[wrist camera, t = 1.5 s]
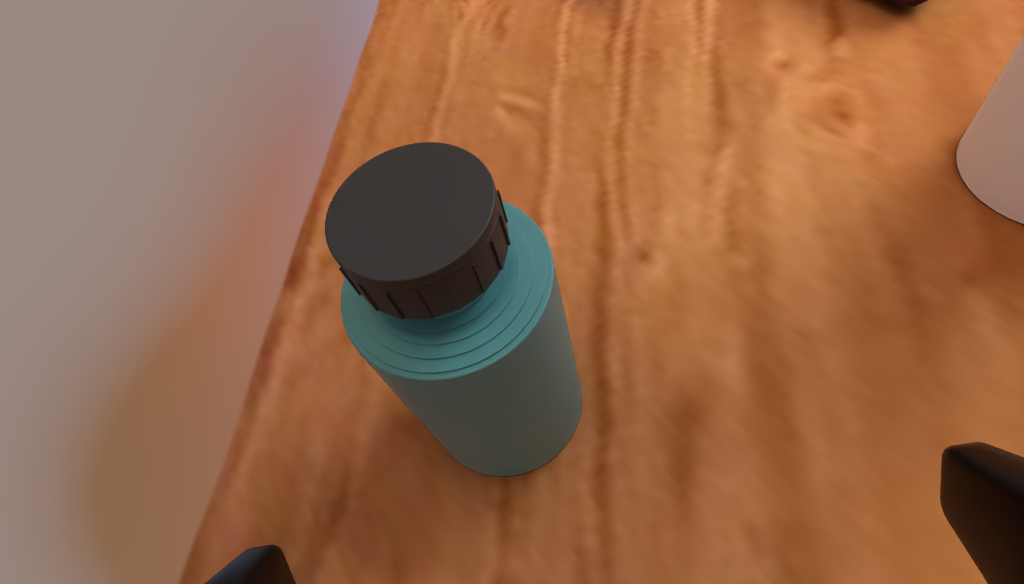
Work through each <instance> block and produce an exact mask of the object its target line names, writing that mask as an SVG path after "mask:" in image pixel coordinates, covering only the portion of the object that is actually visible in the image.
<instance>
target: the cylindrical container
mask: <svg viewBox="0 0 1024 584" xmlns="http://www.w3.org/2000/svg"><path fill="white" fill-rule="evenodd" d="M956 159H957V167H958V170H959V172H960V175H961V178H962V179H963V181H964V182H965V184H966V185H967V187H968V188H969V189H970V190H971V191H972V192H973V194H974V195H975V196H976V197H977V198H978V199H979V200H981V201H982V202H983V203H985V204H986V205H987V206H989V207H990V208H991V209H993V210H995V211H996V212H998V213H1000V214H1002V215H1004V216H1006V217H1007V218H1009V219H1012V220H1014V221H1017V222H1019V223H1022V224H1024V36H1023V37H1022V39H1021V41H1020V42H1019V44H1018V46H1017V47H1016V49H1015V51H1014V52H1013V54H1012V56H1011V57H1010V59H1009V60H1008V62H1007V64H1006V65H1005V67H1004V69H1003V70H1002V72H1001V74H1000V75H999V77H998V79H997V80H996V82H995V84H994V85H993V87H992V89H991V90H990V92H989V93H988V95H987V97H986V98H985V100H984V102H983V103H982V105H981V107H980V108H979V110H978V112H977V113H976V115H975V117H974V118H973V120H972V122H971V123H970V125H969V126H968V128H967V130H966V131H965V133H964V135H963V136H962V138H961V140H960V141H959V145H958V148H957V152H956Z"/></svg>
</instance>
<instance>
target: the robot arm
mask: <svg viewBox="0 0 1024 584" xmlns="http://www.w3.org/2000/svg"><path fill="white" fill-rule="evenodd" d="M940 501H941V506H942V509H943V512H944V514H945V517H946V518H947V520H948V522H949V523H950V525H951V526H952V528H953V530H954V531H955V533H956V534H957V536H958V537H959V539H960V541H961V542H962V544H963V545H964V547H965V548H966V550H967V552H968V553H969V555H970V556H971V558H972V559H973V561H974V562H975V564H976V566H977V567H978V569H979V570H980V572H981V573H982V575H983V577H984V578H985V580H986V581H987V583H988V584H1024V457H1021V456H1018V455H1016V454H1013V453H1010V452H1007V451H1005V450H1002V449H999V448H996V447H994V446H991V445H988V444H985V443H981V442H974V443H967V444H960V445H953V446H949V447H947V448H946V449H945V450H944V452H943V454H942V462H941V489H940ZM204 584H296V583H295V580H294V578H293V575H292V573H291V570H290V568H289V566H288V563H287V561H286V558H285V556H284V554H283V552H282V550H281V549H280V548H279V547H278V546H277V545H266V546H259V547H253V548H249V549H247V550H245V551H244V552H243V553H242V554H240V555H239V556H238V557H237V558H235V559H234V560H233V561H232V562H230V563H229V564H228V565H227V566H225V567H224V568H223V569H222V570H221V571H219V572H218V573H217V574H216V575H214V576H213V577H212V578H211V579H209V580H208V581H207V582H206V583H204Z"/></svg>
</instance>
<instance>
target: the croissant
mask: <svg viewBox="0 0 1024 584" xmlns="http://www.w3.org/2000/svg"><path fill="white" fill-rule="evenodd" d="M888 1H890V2H893V3H895V4H898V5H900V6H917V5H919V4H921V3H923V2H925V1H927V0H888Z"/></svg>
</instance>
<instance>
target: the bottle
mask: <svg viewBox="0 0 1024 584" xmlns="http://www.w3.org/2000/svg"><path fill="white" fill-rule="evenodd" d="M502 203H503V206H504V209H505V213H506V216H507V219H508V222H507V223H506V224H507V228H508V233H509V239H510V242H511V245H508V252H507V256H506V259H505V262H504V264H503V267H504V268H503V270H502V269H501V271H500V272H499V274H498V276H497V277H496V279H495V280H494V281H493V283H492V284H491V285H490V286H489V287H488V288H487V291H486V292H483V293H482V294H481V295H480V296H479V297H477V298H476V299H475V300H474V301H472V302H471V303H469V304H467V305H466V306H464V307H462V309H460V310H459V309H458V310H456V311H454V312H451V313H449V314H446V315H443V316H439V317H435V318H433V319H403V320H402V319H400V318H398V317H395V316H391V315H388V314H386V313H383V312H381V311H380V310H379V311H376V310H375V309H374V308H373V306H372V305H371V304H370V303H369V302H367V301H366V299H365V298H364V297H363V296H362V295H360V296H359V295H358V293H357V292H356V291H355V289H354V288H353V287H352V285H351V284H350V283H349V281H348V280H347V279H346V277H345V280H344V283H343V288H342V295H341V312H342V318H343V323H344V326H345V329H346V332H347V334H348V336H349V338H350V340H351V342H352V344H353V345H354V346H355V348H356V349H357V350H358V352H359V353H360V354H361V355H362V356H363V357H364V359H365V360H366V361H367V362H368V363H369V364H370V365H371V366H372V368H373V369H374V370H375V371H376V372H377V373H378V374H379V375H380V377H381V378H382V379H383V380H384V381H385V382H386V383H387V384H388V385H389V387H390V388H391V389H392V390H393V391H394V392H395V393H396V394H397V396H398V397H399V398H400V399H401V400H402V401H403V402H404V403H405V405H406V406H407V407H408V408H409V409H410V410H411V411H412V412H413V413H414V415H415V416H416V417H417V418H418V419H419V420H420V421H421V422H422V424H423V425H424V426H425V427H426V428H427V429H428V430H429V431H430V433H431V434H432V435H433V436H434V437H435V438H436V439H437V440H438V441H439V443H440V444H441V445H442V446H443V447H444V448H445V449H446V450H447V452H448V453H449V454H450V455H451V456H452V457H453V458H454V459H455V460H456V461H458V462H459V463H461V464H462V465H463V466H465V467H467V468H469V469H471V470H473V471H475V472H478V473H481V474H485V475H490V476H501V477H505V476H515V475H519V474H524V473H527V472H529V471H532V470H535V469H537V468H539V467H540V466H542V465H544V464H546V463H547V462H548V461H550V460H551V459H553V458H554V457H555V456H556V455H557V454H558V453H559V452H560V451H561V450H562V449H563V448H564V447H565V445H566V444H567V443H568V441H569V440H570V438H571V437H572V435H573V433H574V431H575V429H576V427H577V424H578V421H579V417H580V412H581V405H582V394H581V386H580V382H579V377H578V372H577V368H576V363H575V359H574V354H573V349H572V345H571V340H570V335H569V331H568V326H567V321H566V317H565V312H564V307H563V303H562V298H561V293H560V289H559V284H558V279H557V275H556V270H555V266H554V261H553V257H552V253H551V249H550V246H549V244H548V241H547V239H546V237H545V235H544V234H543V232H542V231H541V229H540V228H539V227H538V225H537V224H536V223H535V222H534V221H533V220H532V219H531V218H530V217H529V216H528V215H526V214H525V213H524V212H523V211H521V210H520V209H518V208H516V207H515V206H513V205H511V204H509V203H506V202H504V201H502Z"/></svg>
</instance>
